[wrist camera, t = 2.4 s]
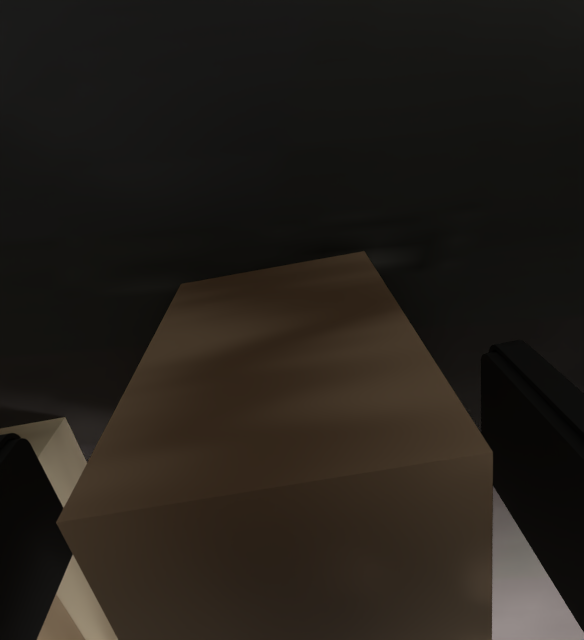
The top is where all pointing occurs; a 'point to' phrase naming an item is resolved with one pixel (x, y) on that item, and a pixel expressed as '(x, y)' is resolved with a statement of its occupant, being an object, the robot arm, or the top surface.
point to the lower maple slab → (63, 473)
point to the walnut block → (288, 472)
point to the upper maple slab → (59, 624)
